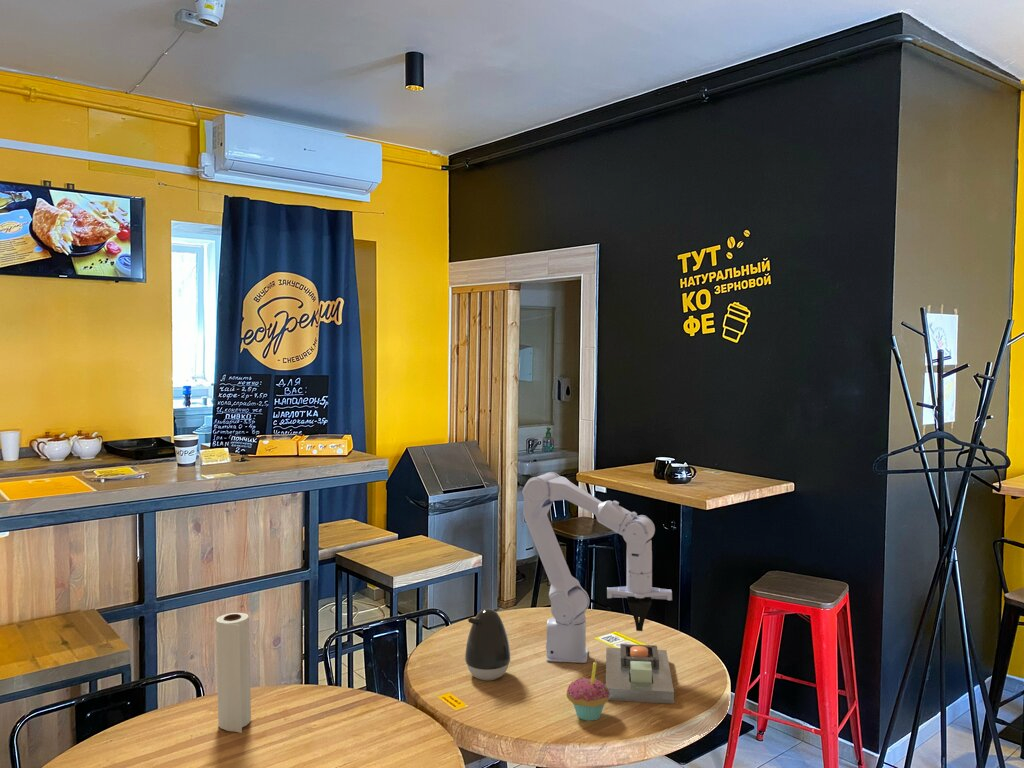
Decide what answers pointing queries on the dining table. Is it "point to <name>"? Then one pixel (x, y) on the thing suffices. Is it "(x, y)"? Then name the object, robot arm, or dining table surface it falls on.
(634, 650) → the button
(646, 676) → the pale green block
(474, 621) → the dark grey egg-shaped figure
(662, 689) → the control box
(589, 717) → the cupcake
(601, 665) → the dining table surface
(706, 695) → the dining table surface
